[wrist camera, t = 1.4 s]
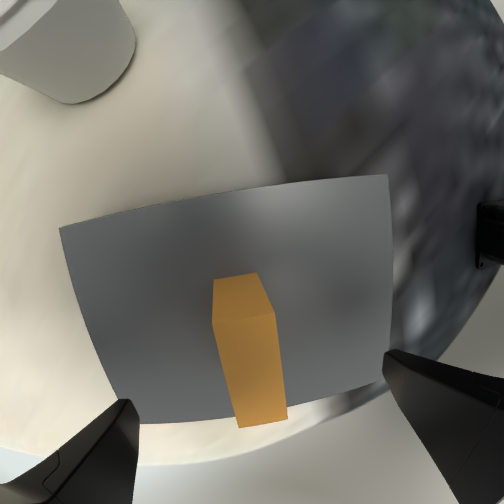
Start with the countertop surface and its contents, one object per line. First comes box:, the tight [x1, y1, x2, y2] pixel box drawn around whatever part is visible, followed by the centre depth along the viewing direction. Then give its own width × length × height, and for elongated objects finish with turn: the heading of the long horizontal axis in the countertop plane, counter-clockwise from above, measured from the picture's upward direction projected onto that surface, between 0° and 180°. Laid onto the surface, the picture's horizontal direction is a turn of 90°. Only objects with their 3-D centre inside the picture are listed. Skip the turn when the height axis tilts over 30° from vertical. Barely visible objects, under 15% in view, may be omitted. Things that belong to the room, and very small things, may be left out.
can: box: [0, 0, 136, 104], centre depth 9 cm, size 8×8×12 cm
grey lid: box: [59, 174, 393, 428], centre depth 12 cm, size 17×13×6 cm
